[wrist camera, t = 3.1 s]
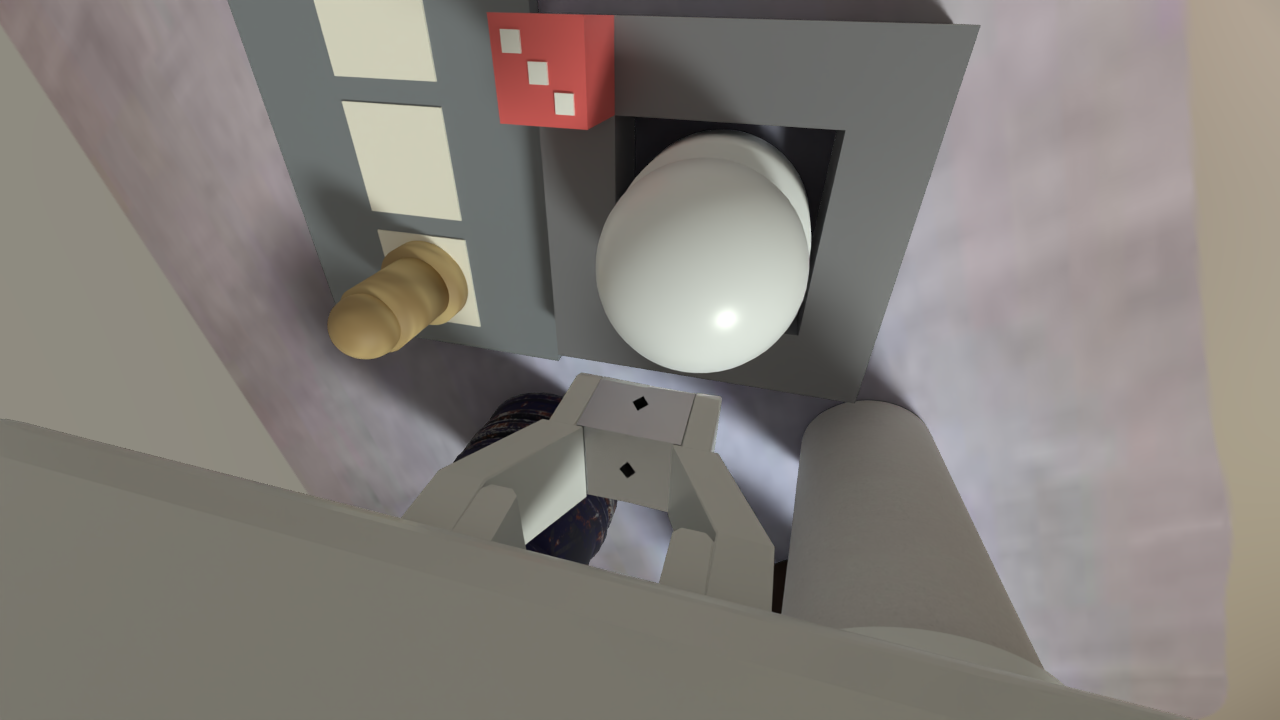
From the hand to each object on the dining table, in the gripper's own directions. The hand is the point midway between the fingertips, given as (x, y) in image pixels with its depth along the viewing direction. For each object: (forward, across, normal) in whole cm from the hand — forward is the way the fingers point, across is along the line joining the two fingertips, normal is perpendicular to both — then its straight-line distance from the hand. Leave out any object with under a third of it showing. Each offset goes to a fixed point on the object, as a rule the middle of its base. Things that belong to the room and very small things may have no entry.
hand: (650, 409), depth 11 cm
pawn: (+13, -15, -5) cm, 21 cm away
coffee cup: (+14, +9, -12) cm, 21 cm away
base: (+14, 0, 0) cm, 14 cm away
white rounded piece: (+12, 0, 0) cm, 12 cm away
